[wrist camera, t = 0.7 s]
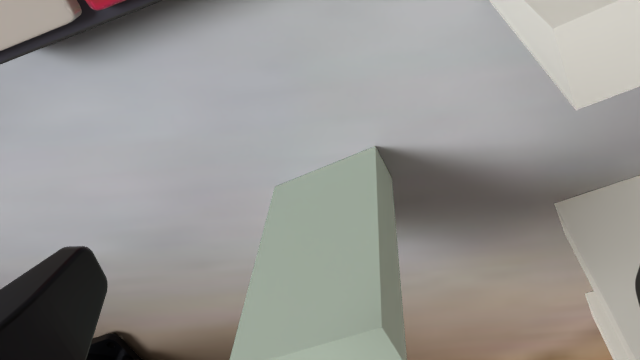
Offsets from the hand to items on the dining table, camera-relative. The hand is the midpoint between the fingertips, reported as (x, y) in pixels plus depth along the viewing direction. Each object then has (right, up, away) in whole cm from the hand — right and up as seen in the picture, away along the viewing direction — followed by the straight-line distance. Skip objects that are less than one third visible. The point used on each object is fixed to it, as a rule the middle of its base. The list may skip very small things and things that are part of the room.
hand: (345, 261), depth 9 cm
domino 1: (0, +1, +15) cm, 15 cm away
